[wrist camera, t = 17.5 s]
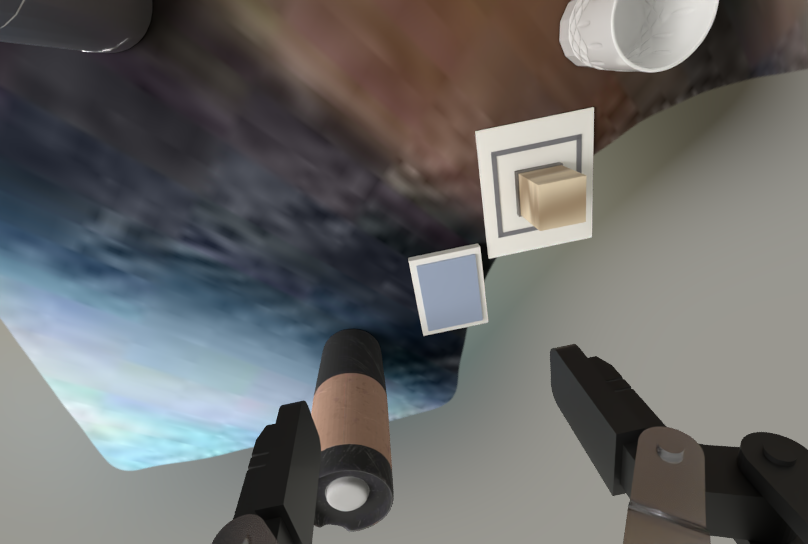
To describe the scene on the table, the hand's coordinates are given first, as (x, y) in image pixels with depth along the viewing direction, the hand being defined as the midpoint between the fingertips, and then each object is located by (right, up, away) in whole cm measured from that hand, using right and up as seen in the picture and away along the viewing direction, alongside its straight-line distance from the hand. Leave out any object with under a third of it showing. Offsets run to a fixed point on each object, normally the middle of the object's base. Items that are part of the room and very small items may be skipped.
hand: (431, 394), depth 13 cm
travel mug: (-7, -6, +38) cm, 39 cm away
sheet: (+13, +13, +31) cm, 36 cm away
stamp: (+13, +13, +30) cm, 36 cm away
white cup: (+17, +27, +25) cm, 40 cm away
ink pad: (+4, +2, +35) cm, 35 cm away
